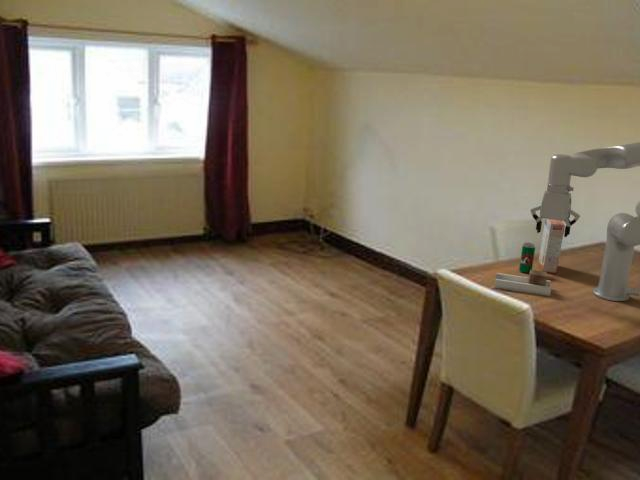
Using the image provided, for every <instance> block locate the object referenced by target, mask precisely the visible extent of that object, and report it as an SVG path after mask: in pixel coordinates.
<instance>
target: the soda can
mask: <svg viewBox="0 0 640 480" xmlns="http://www.w3.org/2000/svg"><path fill="white" fill-rule="evenodd" d="M521 246H522V247H521V255H520V259H519V260H520V262H519V267H518V270H519V272H520V273H523V274H530V270H533V266H534V258H535V252H536V245H535V243H533V242H523V245H521Z"/></svg>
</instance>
